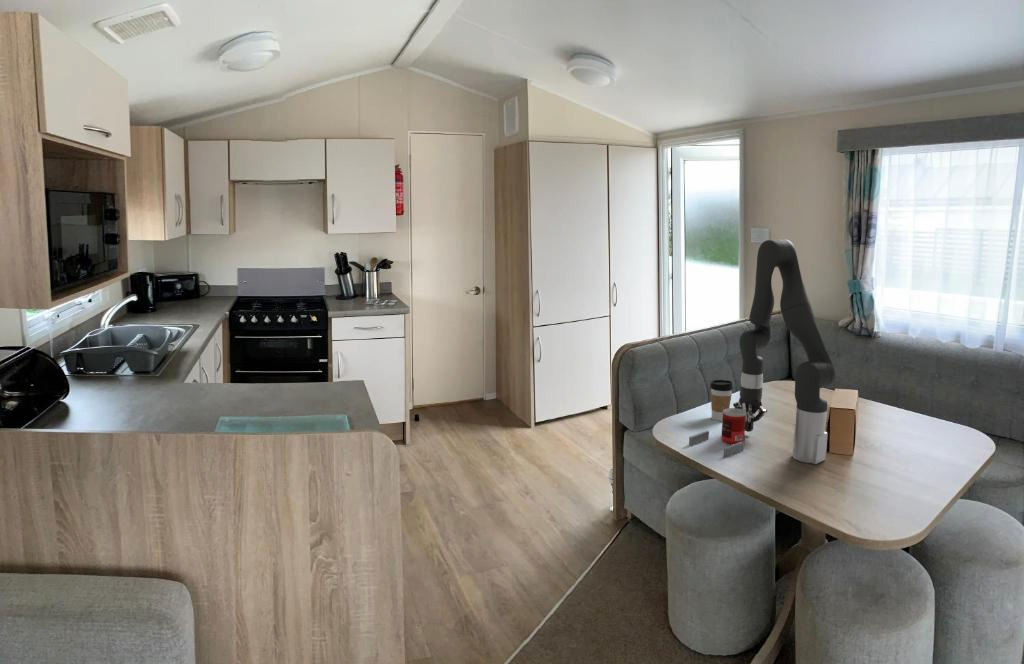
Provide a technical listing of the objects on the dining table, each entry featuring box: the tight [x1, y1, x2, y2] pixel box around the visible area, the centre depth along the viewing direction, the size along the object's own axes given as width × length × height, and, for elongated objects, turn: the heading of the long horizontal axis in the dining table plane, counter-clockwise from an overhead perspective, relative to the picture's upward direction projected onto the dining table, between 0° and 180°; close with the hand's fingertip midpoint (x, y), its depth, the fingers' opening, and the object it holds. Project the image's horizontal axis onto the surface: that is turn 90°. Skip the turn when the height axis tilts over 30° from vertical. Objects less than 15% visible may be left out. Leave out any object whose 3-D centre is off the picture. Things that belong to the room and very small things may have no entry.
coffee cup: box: [709, 379, 734, 422], centre depth 270 cm, size 8×8×15 cm
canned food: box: [720, 407, 746, 445], centre depth 247 cm, size 8×8×11 cm
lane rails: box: [688, 430, 745, 459], centre depth 242 cm, size 15×10×3 cm, turn 40°
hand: (748, 431), depth 254 cm, fingers closed
